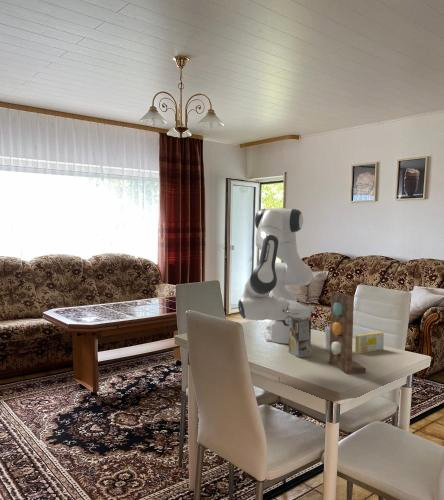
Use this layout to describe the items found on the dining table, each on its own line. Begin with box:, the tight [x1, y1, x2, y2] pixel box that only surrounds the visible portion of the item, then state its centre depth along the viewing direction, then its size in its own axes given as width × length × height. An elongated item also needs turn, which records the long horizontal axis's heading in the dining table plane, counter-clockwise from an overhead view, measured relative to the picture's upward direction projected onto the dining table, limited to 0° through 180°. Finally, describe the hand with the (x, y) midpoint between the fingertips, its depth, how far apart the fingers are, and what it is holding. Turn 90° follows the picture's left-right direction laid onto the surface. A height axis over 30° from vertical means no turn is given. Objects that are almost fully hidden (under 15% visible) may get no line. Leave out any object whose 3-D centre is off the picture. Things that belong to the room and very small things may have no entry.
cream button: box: [331, 342, 341, 354], centre depth 175 cm, size 5×4×5 cm
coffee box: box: [288, 317, 312, 358], centre depth 193 cm, size 9×6×16 cm
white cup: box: [324, 326, 330, 351], centre depth 202 cm, size 8×8×10 cm
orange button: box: [332, 322, 342, 335], centre depth 174 cm, size 5×4×5 cm
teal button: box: [333, 303, 343, 315], centre depth 174 cm, size 5×4×5 cm
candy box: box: [354, 331, 385, 354], centre depth 201 cm, size 16×2×8 cm, turn 116°
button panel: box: [328, 290, 367, 375], centre depth 175 cm, size 16×8×30 cm, turn 10°
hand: (312, 308), depth 172 cm, fingers closed
